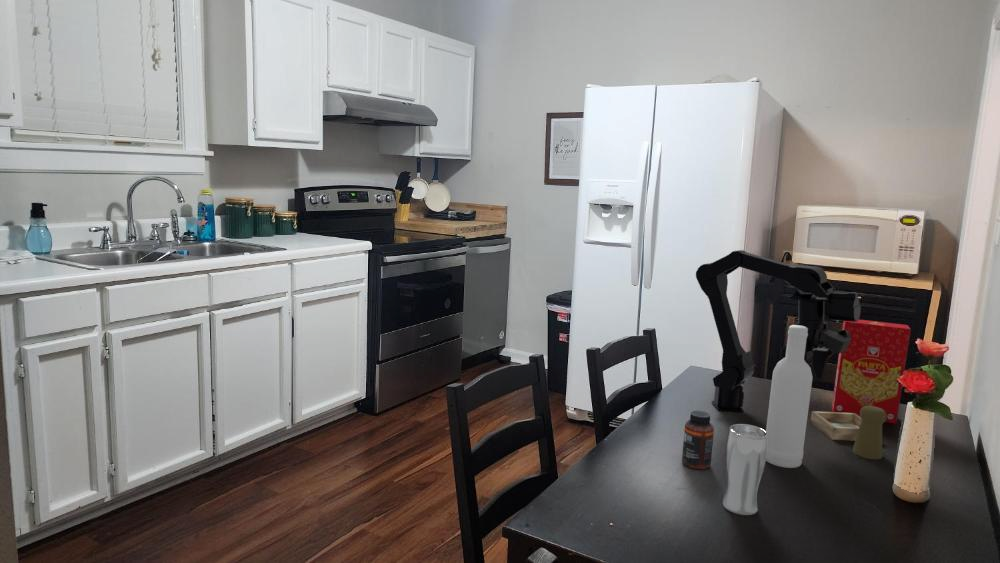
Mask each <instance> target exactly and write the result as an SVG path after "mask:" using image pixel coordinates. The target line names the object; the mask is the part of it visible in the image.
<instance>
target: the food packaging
mask: <svg viewBox="0 0 1000 563" xmlns="http://www.w3.org/2000/svg"><path fill="white" fill-rule="evenodd" d="M842 322H843V323H842V327H841V328H842V329H841V330H843V329H845V330H847V331H849V332H850V338H851V344H849V345H848V347H847V349H846V351H845V352H841V353H840V354H838V358H837V365H836V366H837V367H836V373H835V381H834V388H833V395H832V396H833V397H832V403H831V412H840V413H855V414H857V415H858V416H860V410H861V409H862V408H863V407H864V406H875V407H879V408H881V409H883V410H884V411H885V413H886V420H885V422H884V423H891V424H897V420H898V416H899V415H898V414H899V409H900V408H899V407H900V401H901V394H902V388H903V385H902V386H901V385H900V384H899V383H898V382H897V378H898V377H899V376H901V375H902V373H903V371H904V372H905V370H906V369H905V368H906V362H907V356H908V349H909V342H910V337H911V331H912V329H911V328H910V327H909V325H907V324H901V323H892V322H884V321H875V320H874V321H873V320H865V319H859V320H858V322H851V321H842Z"/></svg>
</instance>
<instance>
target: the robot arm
mask: <svg viewBox="0 0 1000 563" xmlns="http://www.w3.org/2000/svg"><path fill="white" fill-rule="evenodd" d="M739 268H741V269H746V270H750V271H752V272H755V273H760V274H762V275H766V276H770V277H772V278H776V279H780V280H782V281H784V282H785V283H787V284H788V285H790V286H792V287H794V288H796V289H797V290H795V291H794V293H793V294H792V295H790V296H789V297H788V300H790V301H798V302H797V303H798V305H797V306H798V307H797V308H798V309H797V310H798V311H797V312H798V313H797V314H798V315H797V316H798V318H797V322H795V323H794V325H800V326H805V327H806V328H807V329H808V336H807V339H806V347H805V355H804V361H805V362H806V363H807V364H808V365H810V363H811V364H812V367H813V371H814V374H815V377H816V379H818V380H821V379H823V376H824V374H825V373H824V372H825V370H826V366H827V364H828V361H829V358H831V357H832V356H833V355H834V354H838V355H839V354H840V353H841V352H845V351H846V349H847V347H848V345H849V344H851V338H850V332H849V331H847V330H845V329H843V330H842V329H841V330H839V331H838V332H837V331H836V330H835V331H833V330H830V329H829V327H830V326H829V324H828V322H825V316H826V318H828V319H829V320H830V321H836V322H837V321H838V322H843V321H851V322H858V320H860V316H861V310H862V309H861V308H862V306H861V305H860V300H859V297H858V295H859V294H858V292H856V291H853V292H852V291H851V292H837V289H835V288H834V286H833V285H832V284H831V283H830V281H829V280H828V275H827V273H826V271H825V269H824V268H822V267H819V266H816V265H814V266H813V265H805V264H793V263H790V264H789V263H787V262H782V261H779V260H776V259H772V258H768V257H764V256H761V255H758V254H754V253H750V252H747V251H745V250H743V249H742V250H741V249H739V250H733V251H731V252H730V253H729V254H727V255H725V256H723V257H721V258H720V259H716V260H715V261H713V262H711V263H710V262H709V263H703V264H701V265H700V266H699V267H698V268H697V270H696V271H695V278H696V280H697V283H698V284H699V288H700V289H701V291H702V292H703V293H704V294H705V296H706V297H707V299H708V301H709V306H710V309H711V312H712V314H713V319H714V323H715V326H716V329H717V333H718V336H719V337H718V338H719V341H720V344H721V348H722V354H721V369H722V372H720V373H718V374H717V375H716V376H714V377H713V378H712V382H713V386H714V387H715V388H714V396H713V397H714V398H713V400H711V404H712V405H713V406H714V407H715V408H716V409H717V411H722V412H723V411H724V412H725V411H726V412H728V411H729V412H741V413H742V412H743V411H744V409H743V408H744V407H743V406H744V397H745V392H744V386H742V385H744V384H745V383H746V381H747V380H749V379H750V378H752V376H753V374H754V373H755V368H754V367H756V363H755V362H754V360H753V353H752V351H751V350H749V351H745V349H744V348H743V347H742V345H741V341H740V337H739V334H738V331H737V327H736V323H735V320H734V316H733V313H732V310H731V306H730V302H729V298H728V295H727V294H728V293H727V292H728V285H729V284H728V282H729V281H728V275H730V274H732V273H733V272H734V271H736V270H738V269H739ZM786 349H787V344H785V345H784V346H783V347H781V348H780V357H781V358H785V357H786Z"/></svg>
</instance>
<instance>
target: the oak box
mask: <svg viewBox="0 0 1000 563" xmlns="http://www.w3.org/2000/svg"><path fill="white" fill-rule="evenodd" d="M861 421H862V419H861V418H860V416H858V415H857V414H855V413H840V412H833V411H816V410H815V411H811V415H810V423H811V425H813V426H814V427H815V428H817V430H819V431H820V432H821V433H823V435H825V436H826V437H827V438H829V439H830V440H831V441H832V440H833V441H852V442H855V440H856V437H857V434H858V431H859V427H860V424H861Z"/></svg>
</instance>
